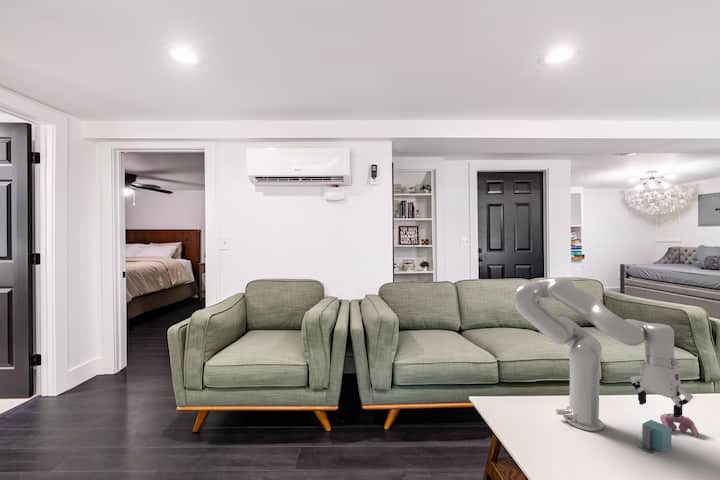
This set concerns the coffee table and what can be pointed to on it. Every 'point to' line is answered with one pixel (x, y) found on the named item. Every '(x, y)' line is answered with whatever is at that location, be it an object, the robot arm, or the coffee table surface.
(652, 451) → the post
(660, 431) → the teal block
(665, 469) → the coffee table surface
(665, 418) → the video game controller
